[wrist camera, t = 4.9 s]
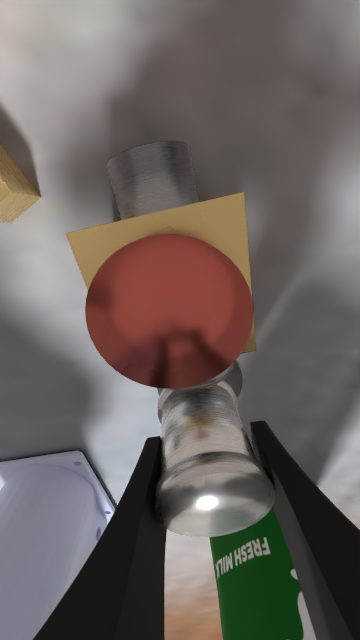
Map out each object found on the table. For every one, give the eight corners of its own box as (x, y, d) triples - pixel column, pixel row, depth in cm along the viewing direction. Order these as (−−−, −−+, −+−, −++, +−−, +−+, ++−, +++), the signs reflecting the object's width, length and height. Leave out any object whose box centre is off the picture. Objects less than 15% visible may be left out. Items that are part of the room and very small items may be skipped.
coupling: (241, 417, 13) (282, 520, 9) (172, 437, 14) (177, 546, 9) (225, 361, 11) (266, 454, 7) (146, 385, 12) (136, 489, 7)
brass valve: (231, 335, 13) (279, 437, 7) (150, 350, 14) (127, 460, 7) (208, 154, 10) (266, 25, 3) (99, 181, 10) (-36, 113, 4)
